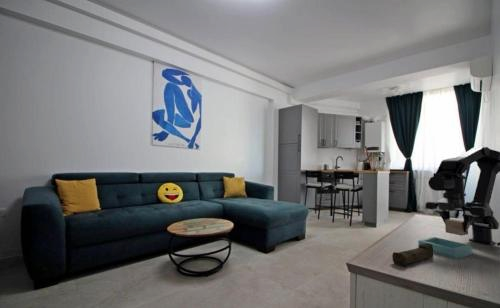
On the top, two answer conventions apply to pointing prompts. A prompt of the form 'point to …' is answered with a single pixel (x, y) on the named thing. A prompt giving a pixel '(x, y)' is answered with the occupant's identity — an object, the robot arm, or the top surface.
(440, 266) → the top surface
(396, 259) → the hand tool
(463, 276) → the top surface
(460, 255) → the tray
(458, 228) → the walnut block
